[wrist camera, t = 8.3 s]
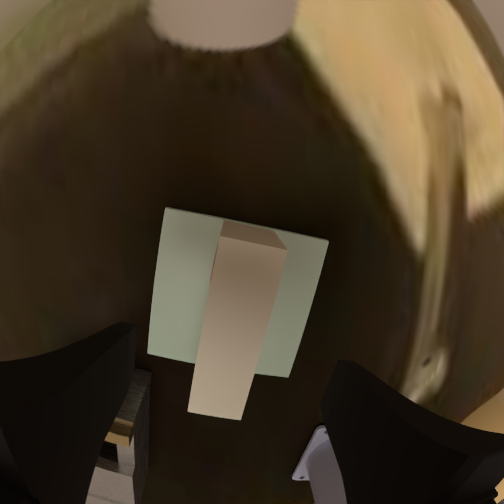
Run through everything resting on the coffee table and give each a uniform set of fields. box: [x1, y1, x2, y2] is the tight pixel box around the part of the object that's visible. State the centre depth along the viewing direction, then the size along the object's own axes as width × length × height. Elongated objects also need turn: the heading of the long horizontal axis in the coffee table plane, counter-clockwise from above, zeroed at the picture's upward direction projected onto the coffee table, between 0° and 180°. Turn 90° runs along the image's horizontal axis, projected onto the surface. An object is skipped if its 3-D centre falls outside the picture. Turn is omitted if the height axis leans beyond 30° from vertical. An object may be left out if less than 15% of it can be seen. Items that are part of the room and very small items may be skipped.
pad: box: [148, 207, 329, 377], centre depth 20 cm, size 10×10×1 cm
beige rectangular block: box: [188, 220, 288, 420], centre depth 17 cm, size 3×10×5 cm, turn 167°
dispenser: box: [86, 368, 152, 504], centre depth 19 cm, size 7×12×7 cm, turn 168°
